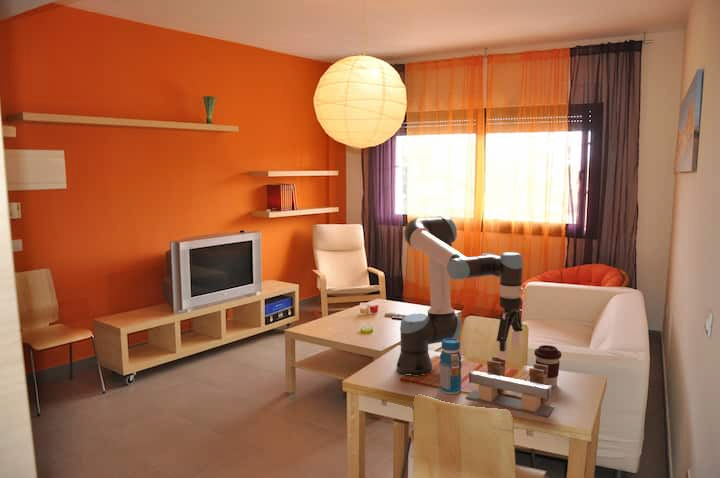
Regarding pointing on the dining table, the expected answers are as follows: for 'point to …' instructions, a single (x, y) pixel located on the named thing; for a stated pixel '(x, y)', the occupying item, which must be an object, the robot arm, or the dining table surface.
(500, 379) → the rail
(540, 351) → the coffee cup
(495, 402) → the twin block support stand
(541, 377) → the pair of wooden supports
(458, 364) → the beverage bottle
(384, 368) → the dining table surface
